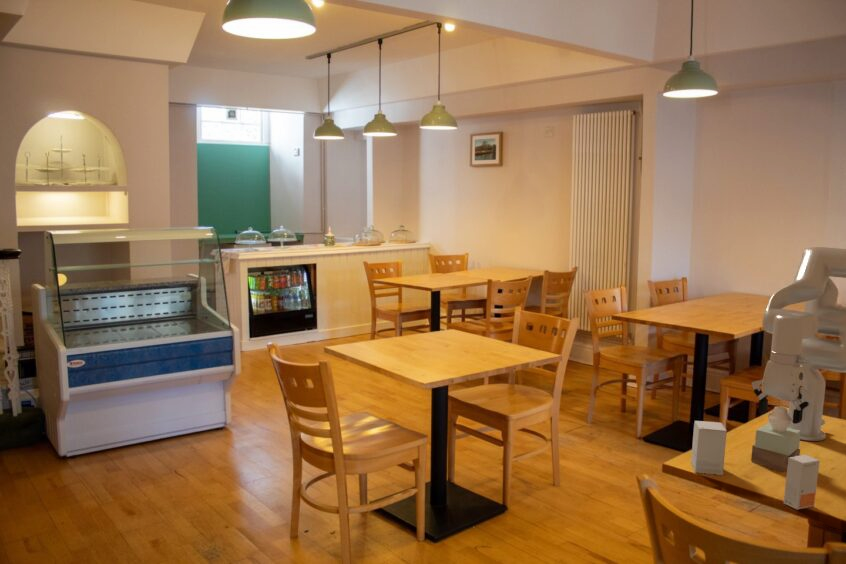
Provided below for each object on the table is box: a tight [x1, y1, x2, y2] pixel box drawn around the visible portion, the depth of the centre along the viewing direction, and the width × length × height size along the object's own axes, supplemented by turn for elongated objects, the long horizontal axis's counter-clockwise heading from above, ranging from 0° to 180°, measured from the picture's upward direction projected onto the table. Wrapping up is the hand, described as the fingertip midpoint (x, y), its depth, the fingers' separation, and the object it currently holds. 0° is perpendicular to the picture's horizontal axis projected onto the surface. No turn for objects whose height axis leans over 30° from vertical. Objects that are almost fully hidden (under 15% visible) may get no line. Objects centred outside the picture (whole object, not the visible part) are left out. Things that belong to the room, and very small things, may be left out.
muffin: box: [767, 405, 792, 432], centre depth 205 cm, size 6×6×7 cm
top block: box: [754, 422, 801, 456], centre depth 206 cm, size 9×9×5 cm
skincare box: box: [783, 454, 820, 511], centre depth 179 cm, size 6×4×12 cm
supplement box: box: [690, 420, 728, 476], centre depth 200 cm, size 7×7×13 cm
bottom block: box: [750, 444, 801, 473], centre depth 207 cm, size 9×9×5 cm
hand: (779, 417), depth 205 cm, fingers open, 9 cm apart
